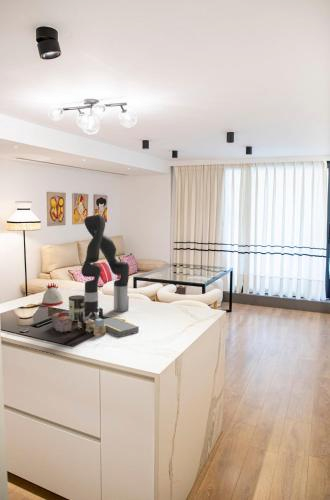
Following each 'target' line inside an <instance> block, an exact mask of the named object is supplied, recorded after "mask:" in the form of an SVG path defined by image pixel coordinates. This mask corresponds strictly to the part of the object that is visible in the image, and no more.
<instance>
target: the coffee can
mask: <svg viewBox="0 0 330 500" xmlns="http://www.w3.org/2000/svg"><path fill="white" fill-rule="evenodd" d="M84 310H85V308H84V295H79V294H77V295H76V294H75V295H71V296H69V297H68V317H70V318H72V322H73V321H78V319H79V312H80V311H81V312H83V311H84Z"/></svg>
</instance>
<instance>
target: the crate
mask: <svg viewBox="0 0 330 500" xmlns="http://www.w3.org/2000/svg"><path fill="white" fill-rule="evenodd" d="M94 321H95V326H97V327H102V326H104V320H103V318H99V319H96V318H95V319H94Z"/></svg>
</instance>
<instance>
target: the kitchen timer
mask: <svg viewBox="0 0 330 500" xmlns="http://www.w3.org/2000/svg"><path fill="white" fill-rule="evenodd" d="M46 288H47V289H46V291H45V292H44V293H43V297H42V302H41V303H42V305H43V306H49V307H50V306H51V307H52V306H53V307H54V306H59V305H63V296H62V294H61V291H60V290H59V289H58V288H59V285H57V283H55V282H53V283H52V282H51V283H48V285H46Z"/></svg>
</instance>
